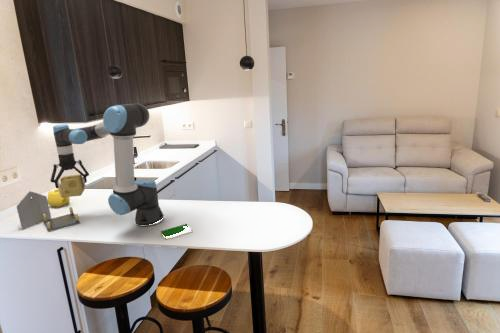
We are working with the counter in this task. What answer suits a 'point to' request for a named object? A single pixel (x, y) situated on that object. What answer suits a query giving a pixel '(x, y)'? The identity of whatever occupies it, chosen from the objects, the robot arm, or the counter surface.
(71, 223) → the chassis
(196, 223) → the counter surface
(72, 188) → the cheese
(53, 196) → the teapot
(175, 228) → the dish sponge
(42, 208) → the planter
